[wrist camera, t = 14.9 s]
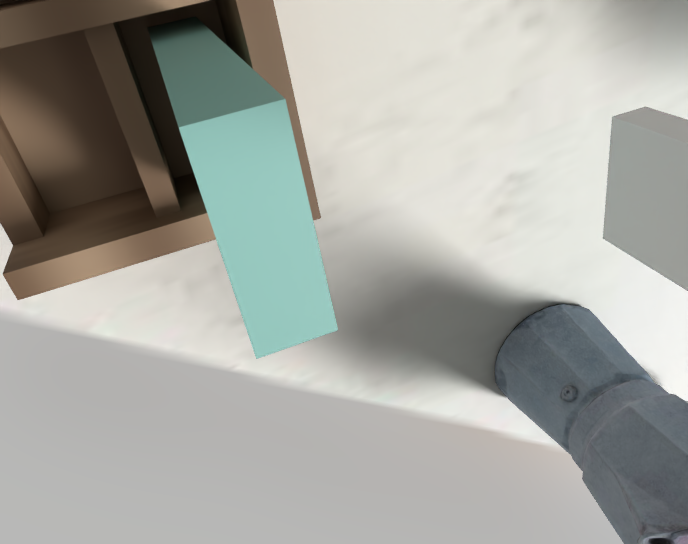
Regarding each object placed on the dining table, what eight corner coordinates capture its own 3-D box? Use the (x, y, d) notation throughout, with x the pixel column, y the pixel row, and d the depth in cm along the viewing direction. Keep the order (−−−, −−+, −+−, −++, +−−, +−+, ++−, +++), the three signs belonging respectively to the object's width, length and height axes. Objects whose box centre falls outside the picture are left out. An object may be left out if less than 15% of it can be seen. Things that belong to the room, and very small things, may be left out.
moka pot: (489, 287, 38) (768, 543, 22) (650, 302, 44) (963, 511, 28) (442, 400, 42) (649, 693, 26) (597, 400, 48) (845, 636, 32)
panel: (195, 16, 24) (285, 99, 11) (231, 142, 27) (338, 330, 14) (147, 27, 23) (178, 127, 10) (189, 153, 26) (256, 358, 13)
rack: (159, -322, 20) (175, -444, 14) (279, 161, 30) (320, 218, 23) (-226, -274, 18) (-413, -395, 12) (38, 231, 27) (13, 313, 21)
